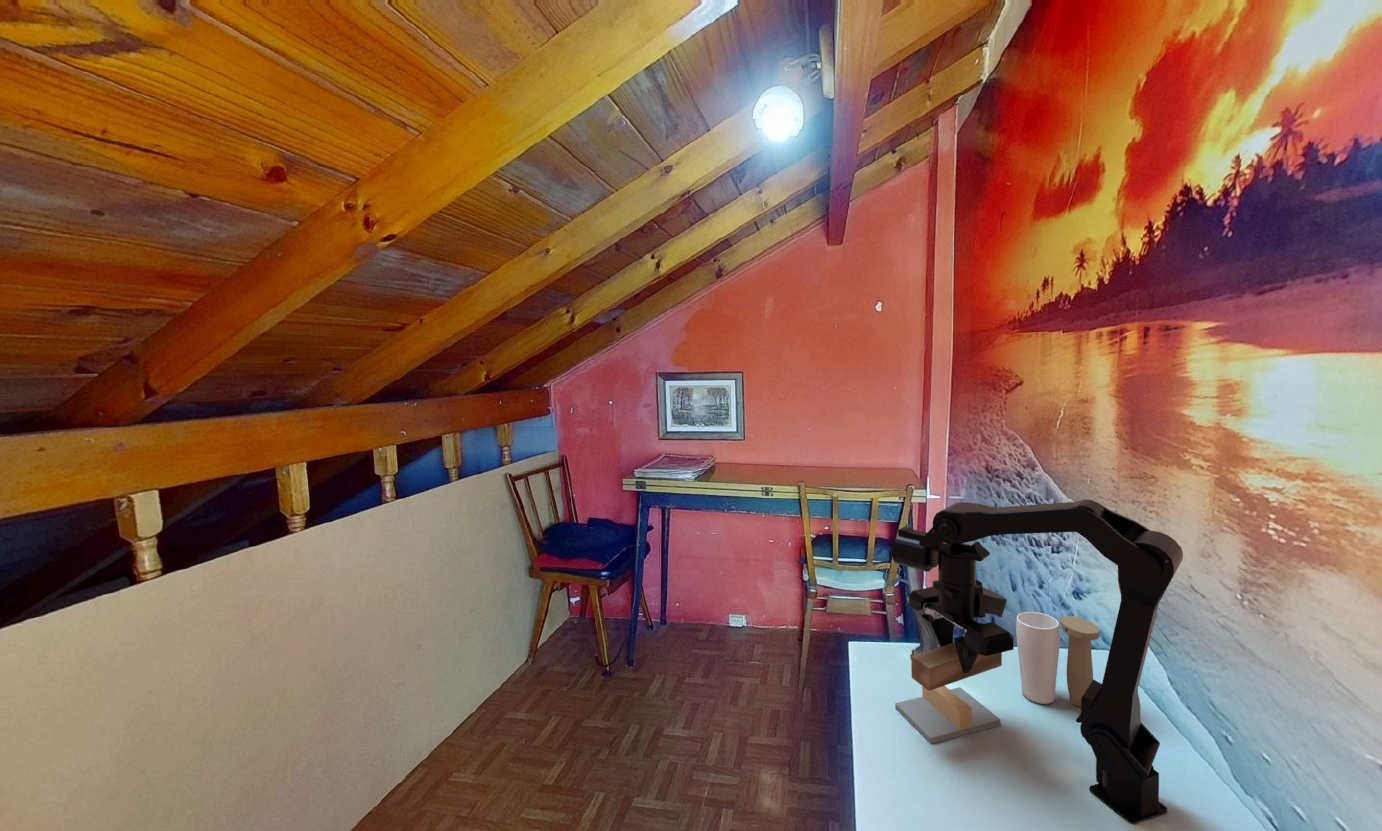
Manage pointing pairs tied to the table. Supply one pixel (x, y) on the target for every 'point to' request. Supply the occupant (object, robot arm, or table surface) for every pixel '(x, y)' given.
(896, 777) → the table surface
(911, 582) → the antler
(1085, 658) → the handle
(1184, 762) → the table surface
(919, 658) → the batten
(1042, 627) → the drinking glass
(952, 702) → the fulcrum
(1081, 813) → the table surface
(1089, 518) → the robot arm
